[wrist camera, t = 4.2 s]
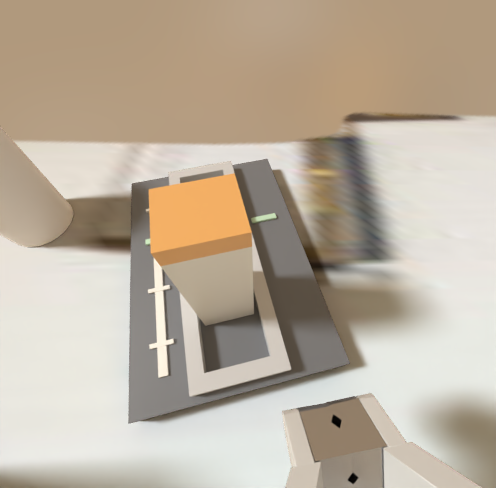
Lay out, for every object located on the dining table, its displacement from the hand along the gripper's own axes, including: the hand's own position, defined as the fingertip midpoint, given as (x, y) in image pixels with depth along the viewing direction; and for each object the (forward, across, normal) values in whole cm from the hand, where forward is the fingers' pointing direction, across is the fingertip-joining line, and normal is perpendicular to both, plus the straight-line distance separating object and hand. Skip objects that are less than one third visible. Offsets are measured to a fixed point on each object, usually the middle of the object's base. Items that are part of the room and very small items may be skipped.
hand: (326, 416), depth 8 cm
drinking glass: (+20, +20, -7) cm, 29 cm away
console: (+14, +4, -1) cm, 15 cm away
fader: (+11, +3, 0) cm, 11 cm away
